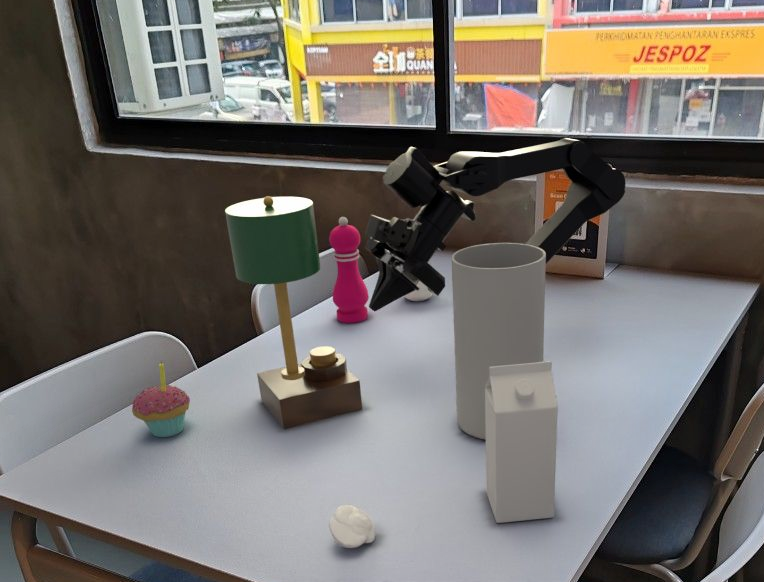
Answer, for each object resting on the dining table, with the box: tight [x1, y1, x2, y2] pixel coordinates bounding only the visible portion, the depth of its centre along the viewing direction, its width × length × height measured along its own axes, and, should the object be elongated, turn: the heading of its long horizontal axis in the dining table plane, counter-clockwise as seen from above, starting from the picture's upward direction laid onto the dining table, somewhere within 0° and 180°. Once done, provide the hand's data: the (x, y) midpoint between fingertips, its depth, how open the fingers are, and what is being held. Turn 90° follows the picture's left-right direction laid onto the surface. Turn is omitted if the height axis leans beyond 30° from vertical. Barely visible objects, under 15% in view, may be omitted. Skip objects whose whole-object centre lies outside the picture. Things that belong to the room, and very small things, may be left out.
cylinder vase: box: [451, 242, 547, 441], centre depth 116 cm, size 12×12×25 cm
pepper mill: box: [328, 216, 370, 324], centre depth 162 cm, size 7×7×20 cm
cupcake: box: [131, 358, 191, 438], centre depth 125 cm, size 9×8×12 cm
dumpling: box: [328, 504, 377, 549], centre depth 98 cm, size 7×5×4 cm
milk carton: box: [485, 360, 559, 524], centre depth 98 cm, size 7×7×19 cm
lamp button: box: [309, 345, 336, 367], centre depth 130 cm, size 4×4×2 cm
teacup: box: [404, 281, 434, 302], centre depth 175 cm, size 10×8×5 cm
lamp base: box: [256, 352, 363, 430], centre depth 131 cm, size 13×12×7 cm
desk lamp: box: [224, 195, 321, 380], centre depth 119 cm, size 12×12×26 cm
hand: (371, 309), depth 130 cm, fingers closed
